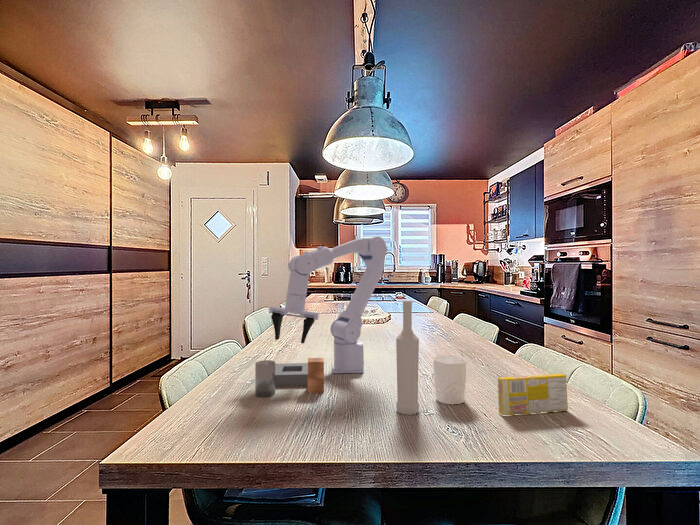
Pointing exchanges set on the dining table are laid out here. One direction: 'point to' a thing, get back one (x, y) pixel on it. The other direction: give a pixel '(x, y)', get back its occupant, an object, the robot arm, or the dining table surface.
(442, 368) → the white cup
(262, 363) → the round dowel
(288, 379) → the bore block
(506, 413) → the candy box
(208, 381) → the dining table surface
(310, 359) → the square peg
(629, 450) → the dining table surface
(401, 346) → the bottle
